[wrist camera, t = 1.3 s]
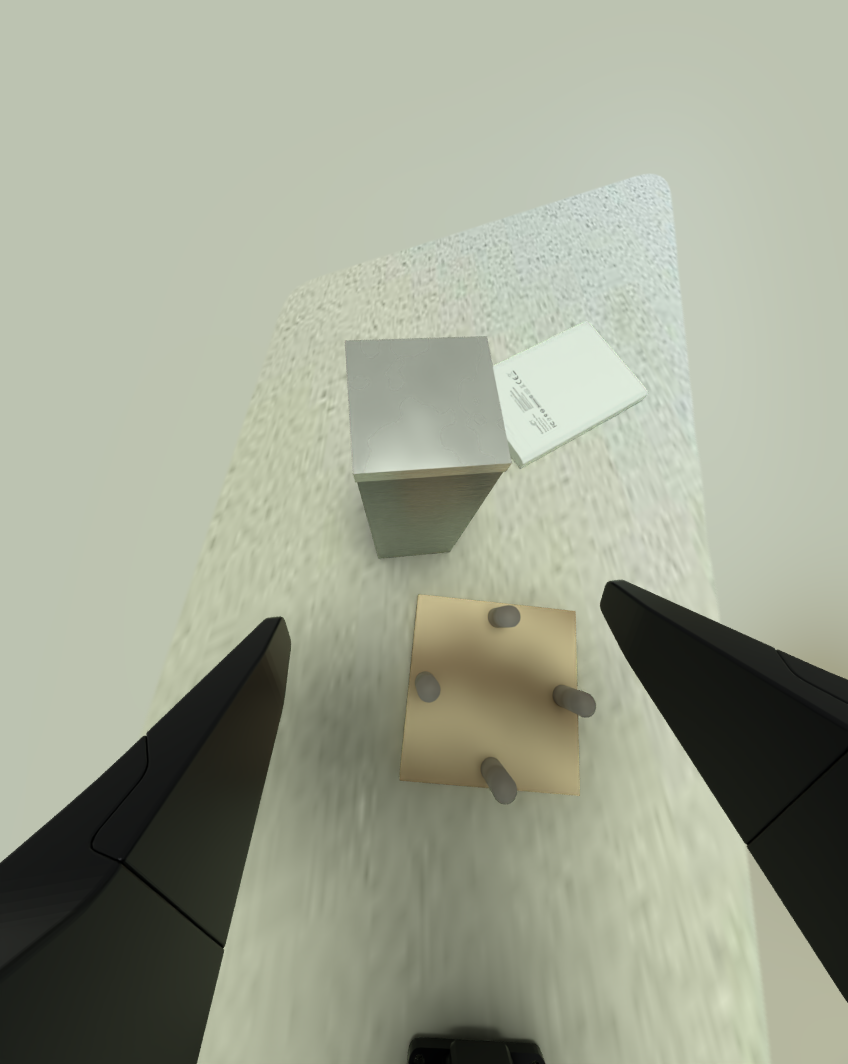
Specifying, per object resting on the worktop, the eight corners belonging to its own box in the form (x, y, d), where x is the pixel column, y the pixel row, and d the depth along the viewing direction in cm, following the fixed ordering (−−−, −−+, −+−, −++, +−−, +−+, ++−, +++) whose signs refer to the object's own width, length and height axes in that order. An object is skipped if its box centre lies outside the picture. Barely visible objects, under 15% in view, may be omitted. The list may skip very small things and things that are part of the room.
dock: (571, 787, 20) (606, 820, 17) (399, 772, 19) (399, 803, 16) (568, 612, 23) (597, 609, 19) (417, 595, 22) (421, 589, 19)
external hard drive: (636, 405, 28) (517, 472, 26) (576, 334, 30) (458, 391, 27) (650, 392, 27) (525, 462, 24) (586, 318, 28) (462, 376, 26)
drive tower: (450, 552, 23) (511, 463, 11) (377, 559, 23) (352, 473, 10) (441, 485, 24) (486, 335, 12) (372, 490, 24) (344, 340, 12)
